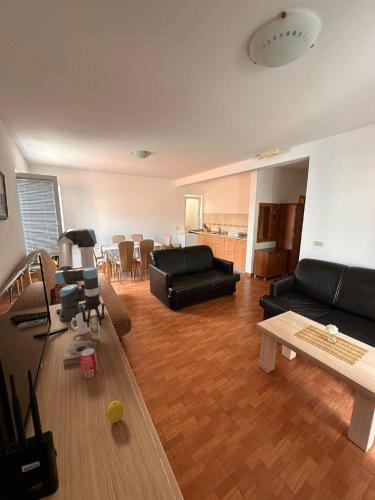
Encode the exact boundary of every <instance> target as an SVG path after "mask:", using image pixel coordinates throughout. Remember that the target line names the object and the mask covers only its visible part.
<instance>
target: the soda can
mask: <svg viewBox="0 0 375 500" xmlns="http://www.w3.org/2000/svg"><path fill="white" fill-rule="evenodd" d="M79 366H80V373H81V374H80V375H81V377H82V378H84V379H91V378H93V377H94V376H96V375H97V373H98V357H97V352H95V350H94V348H86V349H84V350H83V351H82V352H81V355H80V363H79Z"/></svg>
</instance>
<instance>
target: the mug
mask: <svg viewBox="0 0 375 500" xmlns="http://www.w3.org/2000/svg"><path fill="white" fill-rule="evenodd" d="M85 315H86V319H87V317H88V311H87V312H86V311H85ZM75 321H76V325H77V326H74V324H73V323H74V322H75ZM70 326H71V328H72V330H73V331H77V334H78V335H85V334H88V332H90V330H89V327H87V322H83V316H82V313H79V314H77V315H76V318H72V321H70Z"/></svg>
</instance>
